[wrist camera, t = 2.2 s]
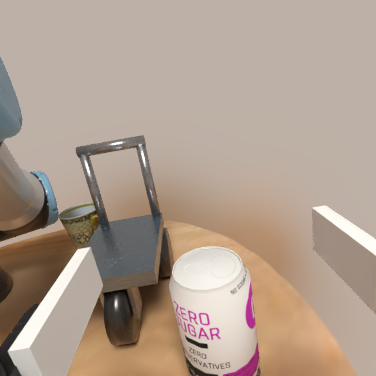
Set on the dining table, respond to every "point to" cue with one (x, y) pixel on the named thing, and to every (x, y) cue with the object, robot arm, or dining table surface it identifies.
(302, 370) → the dining table surface
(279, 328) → the dining table surface
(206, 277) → the supplement can
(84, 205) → the ceramic cup
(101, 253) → the trolley
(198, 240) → the dining table surface
